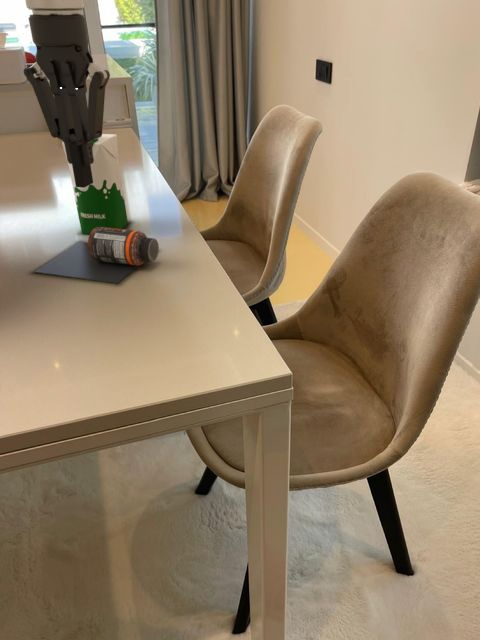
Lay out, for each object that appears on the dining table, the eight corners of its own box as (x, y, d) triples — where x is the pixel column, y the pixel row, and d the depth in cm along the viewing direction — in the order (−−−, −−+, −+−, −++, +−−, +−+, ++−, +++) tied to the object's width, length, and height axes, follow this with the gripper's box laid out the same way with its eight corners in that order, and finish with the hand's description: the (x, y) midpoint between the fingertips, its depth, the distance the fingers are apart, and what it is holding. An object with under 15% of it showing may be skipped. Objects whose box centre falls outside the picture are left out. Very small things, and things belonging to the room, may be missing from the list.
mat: (35, 275, 96) (34, 271, 96) (79, 244, 107) (79, 241, 107) (118, 286, 92) (117, 283, 92) (155, 253, 103) (155, 250, 103)
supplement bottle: (105, 228, 101) (163, 234, 98) (102, 261, 101) (160, 268, 99) (87, 224, 95) (148, 231, 92) (84, 259, 96) (145, 267, 93)
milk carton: (75, 237, 110) (54, 130, 99) (95, 221, 118) (77, 120, 107) (117, 239, 109) (100, 132, 98) (134, 223, 116) (120, 121, 106)
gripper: (-3, 12, 75) (35, 187, 88) (83, 14, 72) (109, 195, 85) (32, 10, 81) (62, 174, 94) (112, 12, 78) (132, 182, 91)
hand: (84, 184), depth 89 cm, fingers closed
